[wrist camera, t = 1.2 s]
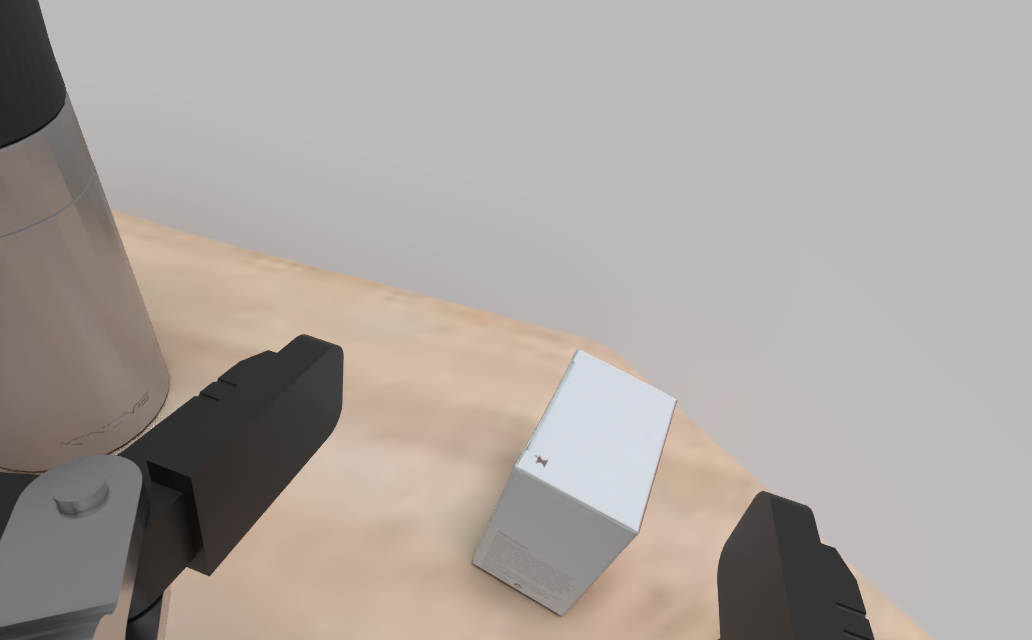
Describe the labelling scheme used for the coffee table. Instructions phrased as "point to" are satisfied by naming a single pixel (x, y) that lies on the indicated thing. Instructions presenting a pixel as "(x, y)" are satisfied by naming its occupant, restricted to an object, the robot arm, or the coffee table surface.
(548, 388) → the coffee table surface
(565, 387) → the small box
